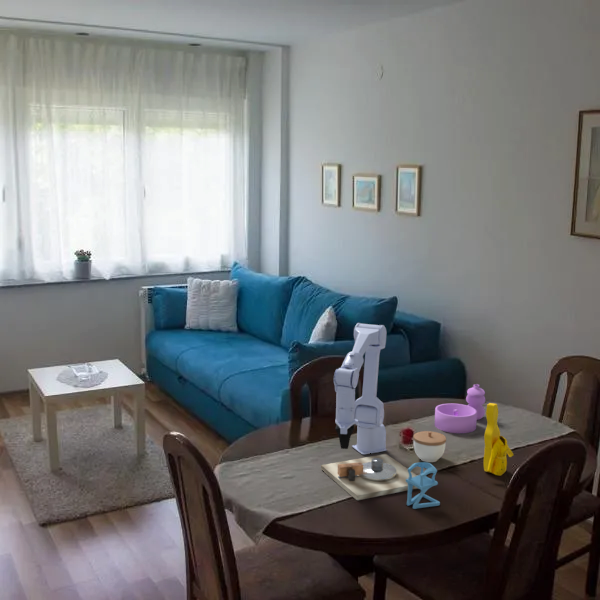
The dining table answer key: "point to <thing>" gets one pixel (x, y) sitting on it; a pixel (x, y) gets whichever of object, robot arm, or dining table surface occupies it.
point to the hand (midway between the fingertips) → (344, 448)
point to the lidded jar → (429, 445)
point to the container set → (461, 413)
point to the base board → (369, 488)
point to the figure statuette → (495, 444)
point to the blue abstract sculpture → (421, 485)
